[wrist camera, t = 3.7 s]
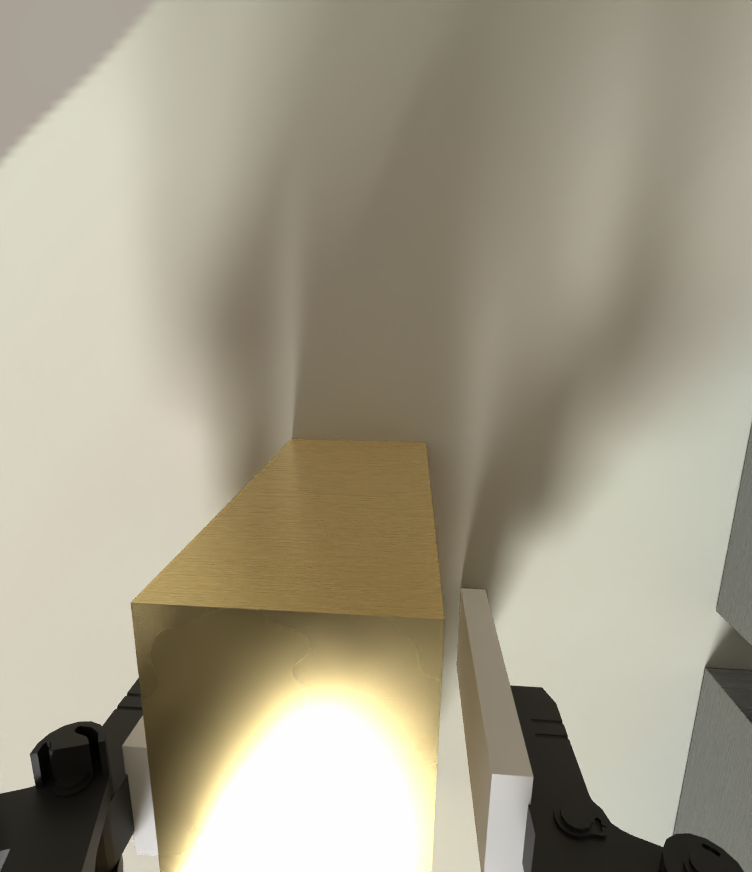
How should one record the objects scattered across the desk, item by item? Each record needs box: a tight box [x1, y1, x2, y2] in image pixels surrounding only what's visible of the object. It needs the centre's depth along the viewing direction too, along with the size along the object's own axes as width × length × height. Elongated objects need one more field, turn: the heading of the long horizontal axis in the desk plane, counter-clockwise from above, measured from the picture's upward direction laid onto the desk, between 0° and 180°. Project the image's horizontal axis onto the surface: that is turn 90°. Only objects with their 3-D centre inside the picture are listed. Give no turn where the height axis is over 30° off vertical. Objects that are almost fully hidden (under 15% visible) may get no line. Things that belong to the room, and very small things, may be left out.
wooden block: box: [131, 439, 445, 872], centre depth 12 cm, size 4×12×9 cm, turn 179°
